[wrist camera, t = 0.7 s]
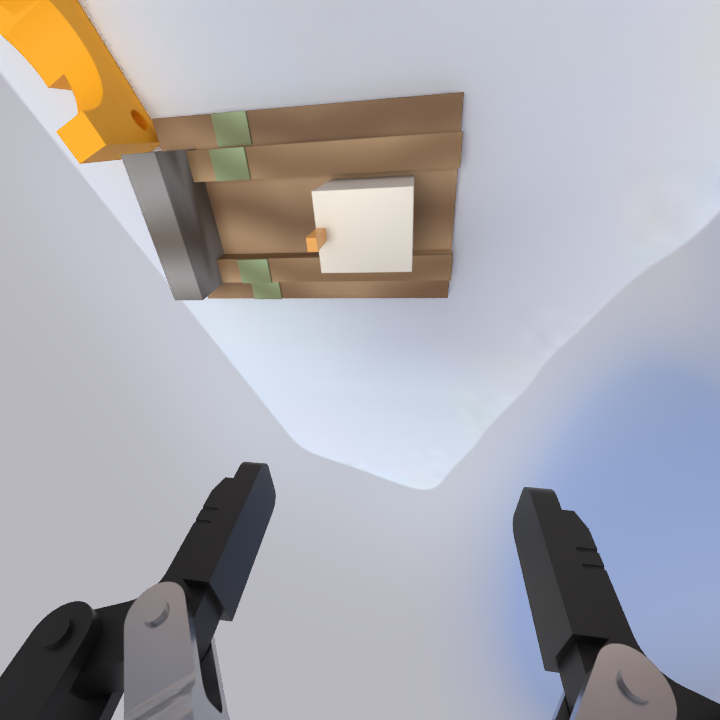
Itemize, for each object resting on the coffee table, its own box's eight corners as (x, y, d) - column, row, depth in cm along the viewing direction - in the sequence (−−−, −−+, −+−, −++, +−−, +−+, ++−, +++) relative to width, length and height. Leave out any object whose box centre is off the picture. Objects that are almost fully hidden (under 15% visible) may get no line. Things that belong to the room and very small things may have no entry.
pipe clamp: (1, -20, 24) (-121, -63, 18) (40, -63, 22) (-80, -124, 17) (128, 167, 29) (63, 175, 24) (166, 141, 28) (106, 145, 22)
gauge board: (161, 119, 27) (100, 117, 22) (461, 93, 23) (474, 83, 18) (214, 293, 34) (178, 322, 29) (446, 292, 31) (452, 324, 26)
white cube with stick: (331, 179, 26) (300, 198, 19) (414, 174, 25) (412, 192, 18) (338, 247, 29) (312, 286, 22) (412, 246, 28) (411, 285, 21)
